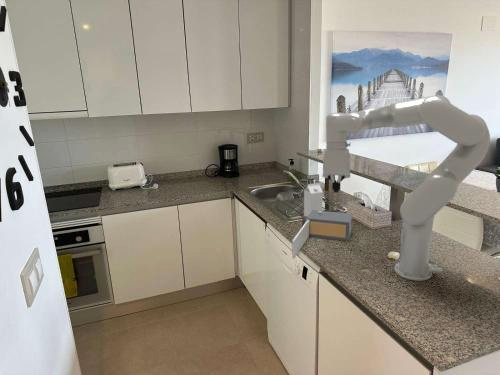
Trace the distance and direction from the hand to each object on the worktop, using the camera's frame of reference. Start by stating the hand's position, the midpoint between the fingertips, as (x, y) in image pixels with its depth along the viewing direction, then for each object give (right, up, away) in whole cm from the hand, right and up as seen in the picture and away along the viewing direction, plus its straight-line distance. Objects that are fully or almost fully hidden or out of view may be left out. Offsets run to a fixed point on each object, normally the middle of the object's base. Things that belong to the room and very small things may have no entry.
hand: (336, 191), depth 136 cm
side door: (-12, -24, +15) cm, 31 cm away
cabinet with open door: (+2, -20, +28) cm, 35 cm away
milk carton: (0, -15, +49) cm, 51 cm away
